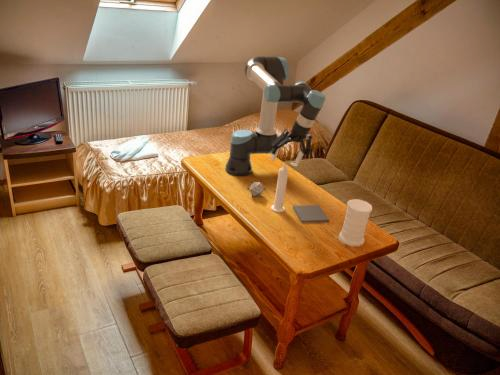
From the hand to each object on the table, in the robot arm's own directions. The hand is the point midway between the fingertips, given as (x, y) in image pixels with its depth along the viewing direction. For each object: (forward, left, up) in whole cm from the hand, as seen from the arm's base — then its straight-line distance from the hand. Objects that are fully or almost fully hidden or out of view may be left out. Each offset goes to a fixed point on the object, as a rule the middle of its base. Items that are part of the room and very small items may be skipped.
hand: (284, 161), depth 207 cm
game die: (-12, -8, -26) cm, 30 cm away
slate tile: (+8, +15, -25) cm, 30 cm away
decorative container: (+30, +27, -26) cm, 47 cm away
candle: (+2, 0, -26) cm, 26 cm away
